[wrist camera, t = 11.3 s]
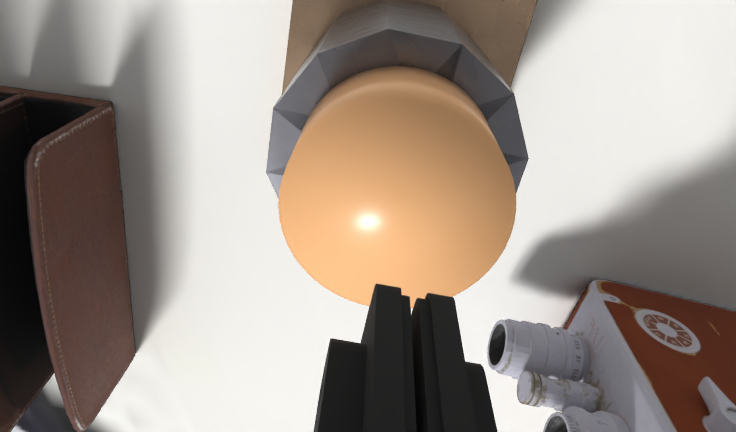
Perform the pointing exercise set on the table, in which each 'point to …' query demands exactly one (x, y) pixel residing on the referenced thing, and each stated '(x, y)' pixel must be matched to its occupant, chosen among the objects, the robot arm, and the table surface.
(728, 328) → the cine camera
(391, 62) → the top hat
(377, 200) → the cap
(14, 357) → the letter holder
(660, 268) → the table surface
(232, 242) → the table surface
